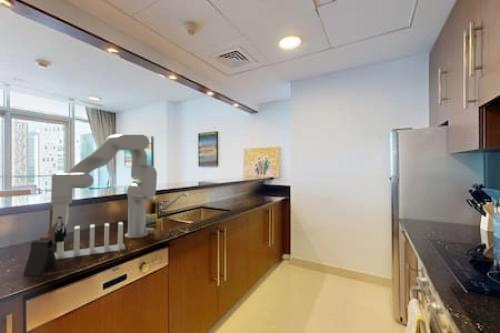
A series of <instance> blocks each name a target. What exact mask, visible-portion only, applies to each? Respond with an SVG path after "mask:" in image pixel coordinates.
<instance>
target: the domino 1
mask: <svg viewBox="0 0 500 333" xmlns="http://www.w3.org/2000/svg"><path fill="white" fill-rule="evenodd" d="M61 228H62V227H61ZM64 245H65V240H64V241H63V242H57V244H56V253H57V258H58V257H62V255H63V253H64V251H65V250H64V247H65V246H64Z"/></svg>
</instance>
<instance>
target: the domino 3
mask: <svg viewBox="0 0 500 333" xmlns="http://www.w3.org/2000/svg"><path fill="white" fill-rule="evenodd" d="M95 226H96V225H95V224H90V225H89V247H88V248H89V253H94V248H95V236H96V235H95V232H96V230H95V228H96V227H95Z"/></svg>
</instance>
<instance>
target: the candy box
mask: <svg viewBox="0 0 500 333" xmlns="http://www.w3.org/2000/svg"><path fill="white" fill-rule="evenodd" d="M155 226H158V213H151V214H146V220H145V227H146V228H151V227H155Z"/></svg>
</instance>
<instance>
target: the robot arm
mask: <svg viewBox="0 0 500 333" xmlns="http://www.w3.org/2000/svg"><path fill="white" fill-rule="evenodd" d="M149 146H150V139H149V137H148V136H146V135H144V134H112V135H108V137H106V139H105V140H104V141H103V142H101V144H100V145H99V146H97V148H96V149H95V150H94V151H93V152H92V153H91V154H90V155H88V156H86V157H85V158H84V159H82V160H80V161H79V162H78V163H76V165H74V166H73V167H72V168H71V169H70V170H69V171H68V172H67V173H65V172H63V173H62V172H61V173H60V172H58V173H53V174H52V176H51V188H50V189H51V190H50V191H51V192H50V193H51V194H50V205H51V206H52V205H53V206H52V209H53V216H52V227H54V226H55V225H56V231H55V242H63V241H64V242H65V238H66V237H67V224H68V220H69V208H70V206H69V204H72V203H73V189H88V188H89V187H91V186H92V185H94V177H93V175H91V174H90V173H91V172H93V171H94V170H97V169H99V168H102V167H104V166H106V165H108V164H109V163H110V162H111V161H112V159H114V157H116V155H117V154H118V152H119V151H129V154H130V155H131V167H130V168H131V169H130V177H131V178H132V180H135V181H139V182H133V183H130V184H129V185H128V187H127V189H126V195H127V200H128V201H127V204H128V207H127V208H128V209H127V232H126V233H125V234H124V237H125V238H126V239H127V238H129V239H135V238H136V239H139V238H143V237H147V236H148V234H149V232H154V230H155V228H154V227H145V220H146V215H147V214H146V213H147V211H146V210H147V204H146V201H149V200H153V198H154V197H155V196H156V192H157V183H158V180H157V179H158V173H157V170H156V168H155V167H154V165H151V164H148V154H147V151H146V150H145V149H148V147H149ZM140 181H141V182H140ZM61 227H62V228H61Z"/></svg>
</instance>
